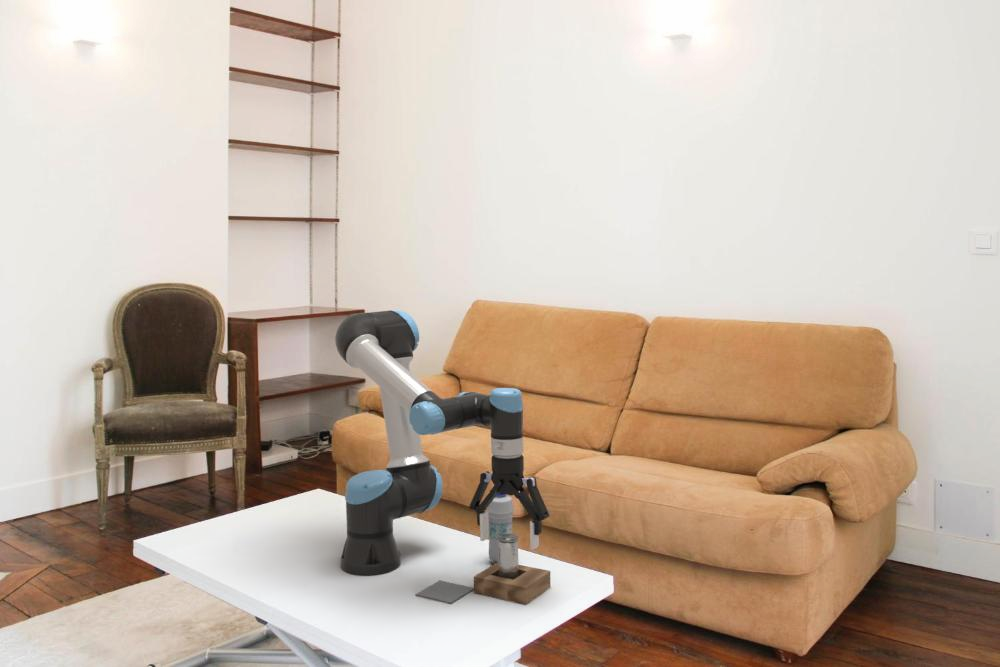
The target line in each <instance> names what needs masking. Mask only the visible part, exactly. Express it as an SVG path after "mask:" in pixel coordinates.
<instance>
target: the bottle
mask: <svg viewBox="0 0 1000 667" xmlns="http://www.w3.org/2000/svg"><path fill="white" fill-rule="evenodd" d="M513 504H514V503H513V498H512V497H511V496H510V495H507V494H500V493H498V494H497V496H496V497H495V498H494V499H493V501H492V502H491V503H490V504H489V506H488V507H487V509H486V511H488V520H489V538H488V539H489V540H488V558H489V560H490V562H491V563H492V565H494V564H495V563H497V562H499V543H498V537H499V536H500V535H502V534H513V517H514V505H513Z"/></svg>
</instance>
